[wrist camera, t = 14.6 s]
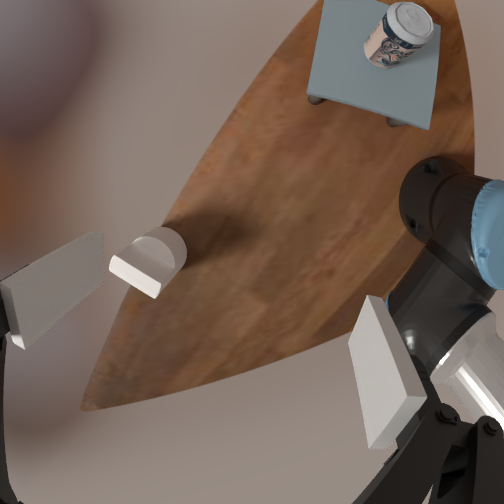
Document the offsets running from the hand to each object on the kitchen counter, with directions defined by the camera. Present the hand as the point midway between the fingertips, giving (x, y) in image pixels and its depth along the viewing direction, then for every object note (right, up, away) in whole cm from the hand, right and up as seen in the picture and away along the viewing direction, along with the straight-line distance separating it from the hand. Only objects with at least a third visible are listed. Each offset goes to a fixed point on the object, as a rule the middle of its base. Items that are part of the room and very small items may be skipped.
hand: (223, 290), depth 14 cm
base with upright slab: (-15, +2, +41) cm, 43 cm away
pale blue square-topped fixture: (+19, +30, +26) cm, 44 cm away
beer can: (+17, +26, +15) cm, 35 cm away
